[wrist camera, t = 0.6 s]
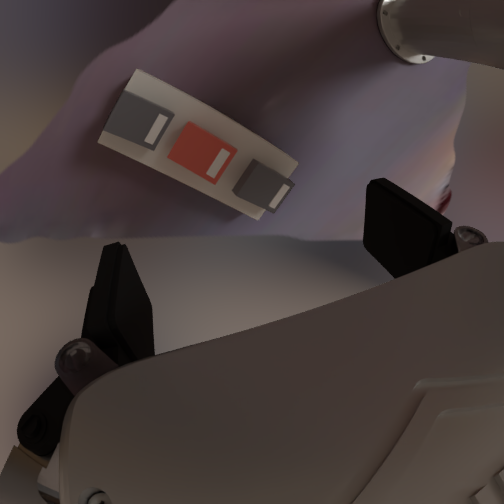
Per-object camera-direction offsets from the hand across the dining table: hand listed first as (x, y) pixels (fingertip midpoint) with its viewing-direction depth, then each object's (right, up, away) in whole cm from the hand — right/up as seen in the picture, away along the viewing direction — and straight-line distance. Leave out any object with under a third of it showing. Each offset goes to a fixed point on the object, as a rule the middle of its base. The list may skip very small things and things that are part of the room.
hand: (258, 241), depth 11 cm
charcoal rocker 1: (-12, +13, +16) cm, 24 cm away
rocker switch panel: (-7, +13, +24) cm, 28 cm away
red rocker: (-6, +10, +20) cm, 23 cm away
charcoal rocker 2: (+1, +8, +24) cm, 25 cm away
